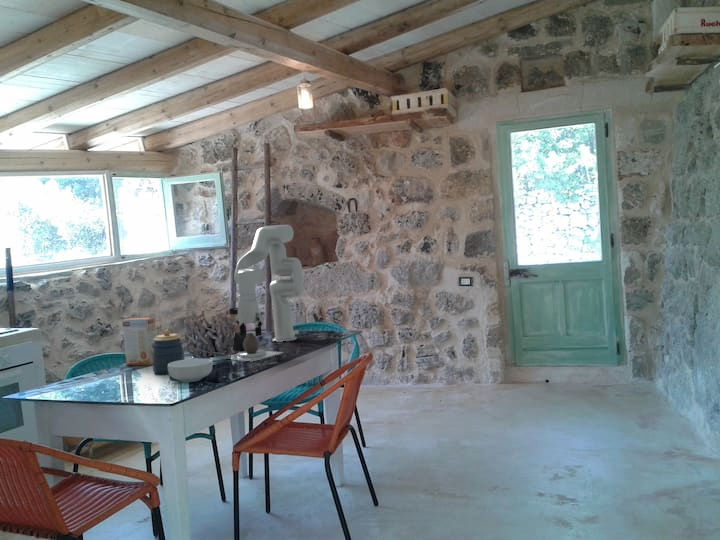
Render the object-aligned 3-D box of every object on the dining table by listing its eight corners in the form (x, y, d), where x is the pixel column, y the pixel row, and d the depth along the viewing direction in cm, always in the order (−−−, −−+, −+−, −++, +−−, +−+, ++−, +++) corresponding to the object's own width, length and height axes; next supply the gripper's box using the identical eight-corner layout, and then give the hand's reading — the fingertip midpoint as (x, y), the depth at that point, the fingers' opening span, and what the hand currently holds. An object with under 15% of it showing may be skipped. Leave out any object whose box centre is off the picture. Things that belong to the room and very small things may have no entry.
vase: (243, 354, 289) (241, 334, 288) (244, 351, 296) (243, 332, 295) (258, 353, 289) (257, 333, 289) (259, 350, 296) (258, 331, 296)
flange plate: (251, 351, 306) (251, 347, 306) (283, 353, 295) (282, 349, 295) (220, 359, 290) (219, 355, 290) (252, 361, 278) (251, 357, 278)
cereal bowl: (190, 386, 237) (188, 367, 237) (159, 383, 246) (157, 365, 246) (222, 376, 252) (221, 358, 251) (192, 374, 260) (191, 356, 260)
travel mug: (249, 347, 319) (246, 307, 317) (245, 350, 311) (242, 308, 310) (234, 348, 319) (231, 307, 318) (229, 350, 312) (226, 309, 311)
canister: (174, 375, 260) (171, 332, 260) (147, 375, 264) (143, 332, 263) (191, 368, 273) (188, 327, 272) (165, 368, 277) (162, 327, 276)
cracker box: (159, 363, 290) (155, 317, 289) (149, 366, 285) (145, 319, 284) (135, 362, 296) (131, 317, 295) (125, 365, 291) (121, 319, 290)
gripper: (228, 298, 293) (231, 335, 295) (255, 299, 283) (259, 337, 285) (240, 296, 299) (243, 332, 301) (267, 296, 289) (270, 334, 291)
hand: (250, 335), depth 293 cm, fingers open, 9 cm apart
